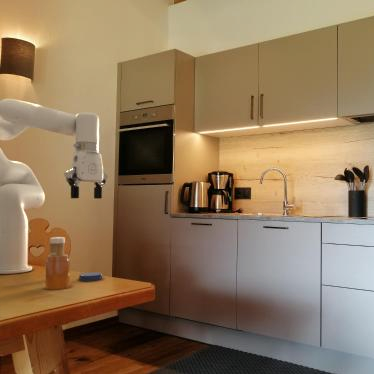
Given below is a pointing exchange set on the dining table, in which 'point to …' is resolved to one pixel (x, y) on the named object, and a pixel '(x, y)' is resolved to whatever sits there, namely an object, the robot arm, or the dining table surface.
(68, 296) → the dining table surface
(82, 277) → the lid
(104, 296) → the dining table surface
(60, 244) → the sprinkles bottle
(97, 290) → the dining table surface
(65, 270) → the jar
